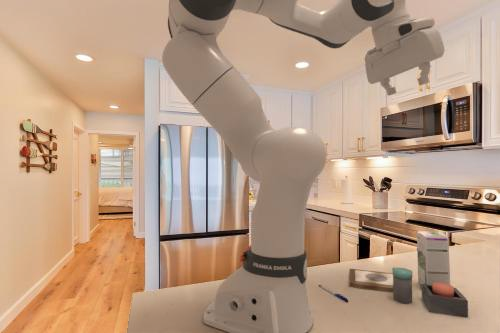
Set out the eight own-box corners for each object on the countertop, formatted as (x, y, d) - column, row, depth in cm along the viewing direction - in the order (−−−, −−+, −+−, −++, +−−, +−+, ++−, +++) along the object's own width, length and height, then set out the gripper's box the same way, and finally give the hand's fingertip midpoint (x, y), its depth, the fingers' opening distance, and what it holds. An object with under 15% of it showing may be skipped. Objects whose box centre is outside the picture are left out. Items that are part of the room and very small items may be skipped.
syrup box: (451, 294, 70) (450, 235, 70) (425, 292, 71) (424, 234, 71) (440, 285, 75) (439, 231, 76) (416, 283, 77) (416, 230, 77)
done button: (435, 297, 62) (435, 287, 62) (430, 290, 65) (430, 281, 66) (456, 300, 60) (456, 290, 60) (450, 293, 64) (450, 283, 64)
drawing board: (349, 286, 74) (349, 281, 74) (349, 271, 86) (349, 267, 86) (408, 294, 70) (408, 289, 70) (400, 277, 81) (400, 273, 81)
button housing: (429, 311, 61) (429, 295, 61) (421, 298, 67) (421, 283, 67) (468, 317, 58) (467, 300, 58) (456, 302, 65) (455, 287, 65)
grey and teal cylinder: (394, 302, 65) (393, 272, 65) (391, 295, 69) (391, 266, 69) (414, 305, 64) (414, 274, 64) (410, 297, 68) (410, 268, 68)
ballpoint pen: (349, 302, 66) (349, 298, 66) (346, 303, 65) (346, 299, 65) (320, 286, 75) (320, 282, 75) (317, 287, 75) (317, 283, 75)
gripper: (355, 55, 79) (368, 102, 81) (421, 17, 60) (437, 79, 61) (371, 51, 81) (384, 97, 83) (440, 13, 62) (455, 74, 63)
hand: (407, 89), depth 72 cm, fingers open, 8 cm apart
